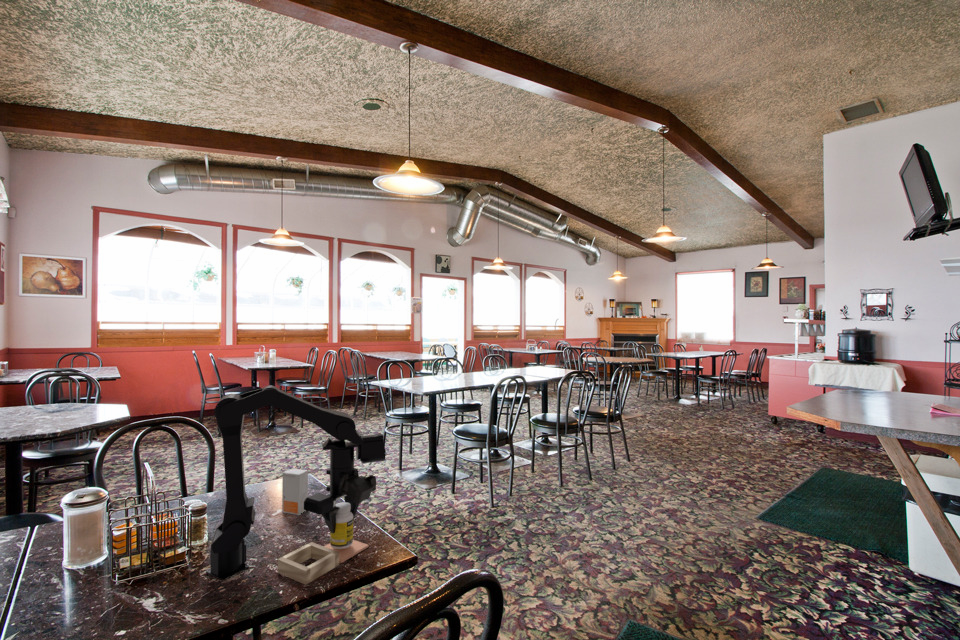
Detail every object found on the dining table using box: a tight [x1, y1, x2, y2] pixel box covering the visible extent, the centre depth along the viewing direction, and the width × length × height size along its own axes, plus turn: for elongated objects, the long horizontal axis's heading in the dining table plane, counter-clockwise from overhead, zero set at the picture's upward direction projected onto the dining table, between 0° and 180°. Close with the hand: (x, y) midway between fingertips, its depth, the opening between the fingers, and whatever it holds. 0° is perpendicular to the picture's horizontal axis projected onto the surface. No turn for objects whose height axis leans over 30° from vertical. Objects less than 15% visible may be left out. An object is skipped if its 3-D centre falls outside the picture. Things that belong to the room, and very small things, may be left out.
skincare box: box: [281, 468, 309, 516], centre depth 139 cm, size 6×4×12 cm
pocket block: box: [277, 541, 340, 585], centre depth 107 cm, size 9×9×3 cm
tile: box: [324, 539, 369, 564], centre depth 116 cm, size 9×9×1 cm
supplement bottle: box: [329, 501, 354, 549], centre depth 116 cm, size 5×5×10 cm
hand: (341, 528), depth 116 cm, fingers closed on supplement bottle, 5 cm apart
